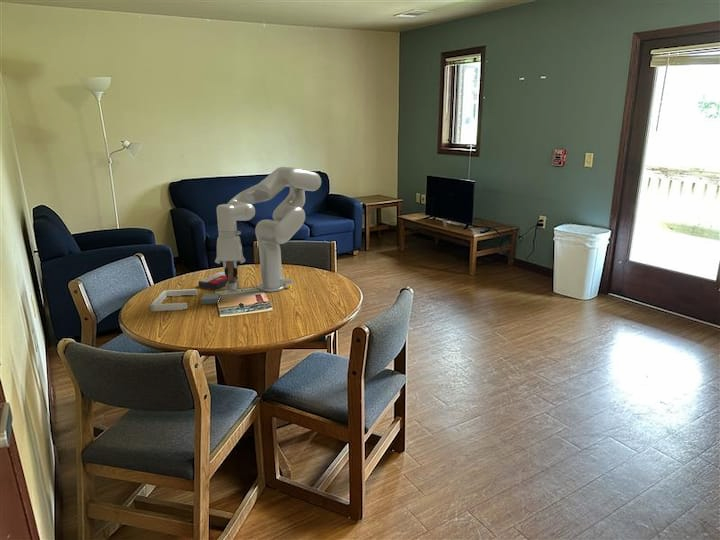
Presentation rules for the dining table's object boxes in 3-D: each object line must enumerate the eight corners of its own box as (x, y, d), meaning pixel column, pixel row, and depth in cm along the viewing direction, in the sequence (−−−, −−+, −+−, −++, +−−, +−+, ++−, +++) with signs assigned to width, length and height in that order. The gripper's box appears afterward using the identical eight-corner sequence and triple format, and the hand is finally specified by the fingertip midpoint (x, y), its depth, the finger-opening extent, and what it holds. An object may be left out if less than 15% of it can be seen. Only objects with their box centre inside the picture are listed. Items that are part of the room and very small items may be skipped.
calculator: (197, 280, 231) (220, 270, 244) (199, 288, 233) (221, 278, 245) (214, 283, 226) (237, 273, 238) (216, 292, 228) (238, 281, 240)
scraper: (238, 285, 216) (236, 258, 213) (235, 291, 209) (233, 262, 205) (229, 285, 216) (226, 258, 213) (226, 291, 209) (223, 263, 205)
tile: (220, 298, 218) (220, 293, 217) (218, 303, 211) (217, 298, 210) (204, 299, 217) (204, 293, 216) (201, 304, 210) (200, 299, 210)
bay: (197, 294, 222) (196, 288, 222) (186, 309, 204) (186, 303, 203) (164, 295, 221) (163, 290, 221) (150, 311, 203) (149, 305, 202)
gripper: (248, 232, 210) (251, 273, 215) (210, 232, 209) (214, 274, 214) (246, 235, 203) (249, 278, 208) (206, 236, 202) (210, 279, 207)
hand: (231, 276), depth 211 cm, fingers closed on scraper, 2 cm apart
